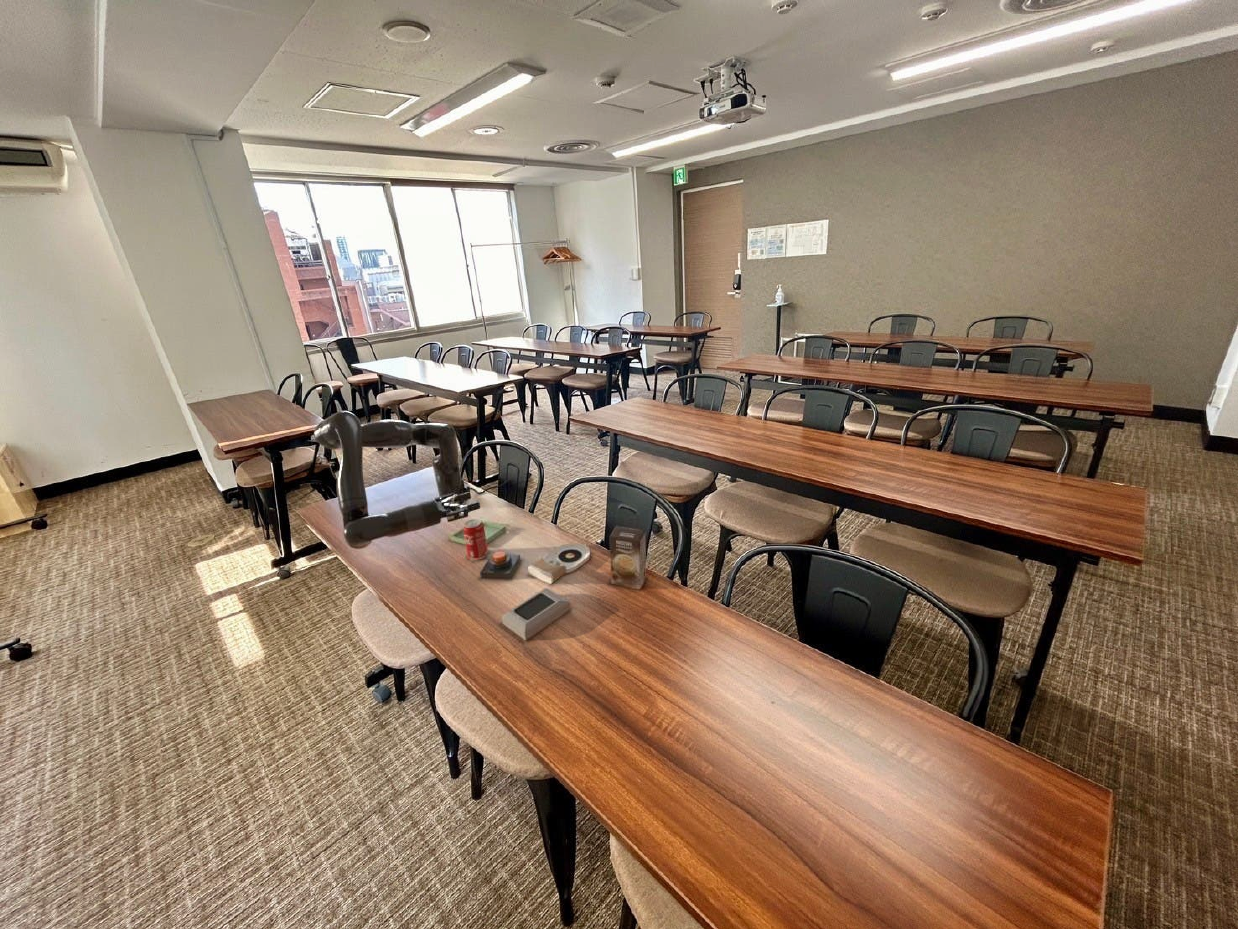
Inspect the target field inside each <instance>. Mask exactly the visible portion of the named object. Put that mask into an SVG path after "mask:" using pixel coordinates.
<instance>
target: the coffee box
mask: <svg viewBox="0 0 1238 929" xmlns="http://www.w3.org/2000/svg"><path fill="white" fill-rule="evenodd" d="M646 539H647V531H646V529H641V528H635V527H628V526H623V525H615V526H614V528H613V529H612V531H611V533H610V534H609V556H610V559H609V560H610V580H611V582H610V583H611V585H616V586H621V587H627V588H631V589H637V590H641V589H642V587H643V585H644V583H645V580H646V579H647V548H646V547H647V545H646V544H647V540H646Z"/></svg>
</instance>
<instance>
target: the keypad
mask: <svg viewBox="0 0 1238 929" xmlns="http://www.w3.org/2000/svg"><path fill="white" fill-rule="evenodd" d="M569 611H571V602H570V601H569V600H567V599H566V598H564V597H563V596H560V595H559V594H558V593H556V592H554V591H552V590H551V589H549V588H547V587H545V588H543V589H542V590H540V591H538V592H537V593H535V594H534V595H532V596H530V597H529V598H527V599H526V600H524V601H523V602H521V603H519V604H518V605H516V606H515V607H513V608H512V609H510V610H509V611H507V612H505V613H504V614H503V615H502V616H501V622H502V625H503V626H505V627H506V628H508V629H509V630H510V631H512V632H513V633H515V634H516V635H517V636H518V637H520V638H521V639H522V640H524V641H527V640H530V639H531V638H532V637H533V636H535V635H536V634H538V633H539V632H540V631H542V630H543V629H545V628H547V627H548V626H549V625H551V624H552V623H553V622H554V621H556V620H558V619H559V618H561V617H563V615H565V614H566V613H567V612H569Z"/></svg>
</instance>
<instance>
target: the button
mask: <svg viewBox="0 0 1238 929" xmlns="http://www.w3.org/2000/svg"><path fill="white" fill-rule="evenodd" d="M505 553H506V552H504V551H496V552H494V553H493V554H494V555H493V559H494V562H503V561H504V560H506V556H505Z"/></svg>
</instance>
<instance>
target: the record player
mask: <svg viewBox="0 0 1238 929" xmlns="http://www.w3.org/2000/svg"><path fill="white" fill-rule="evenodd" d="M590 558H591V550H590V548H589V547H588V546H587V545H585V544H583V543H578V542H568V543H563V544H561V545H559V546H557V547H556V548H555V549H553V550H552V551H550V552H549V553H547V554H546V555H545V556H544V557H541V558H539V559H538V560H536V561H535V562H533V563H532V564H530V565H529V566H528V567H527V571H528V574H529V575H530V576H531V577H533V578H536V579H538V580H540V581H542V582H545V583H547V584H549V585H551V584H553V583H554V582H555V581H557V580H558V579H560V578H561V577H562V576H564V575H565V574H569V573H572V572H574V571H576V570H577V569H579V568H580V567H581V566H583V565H584V564H585V563H587V562H588V561H589V559H590Z"/></svg>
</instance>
